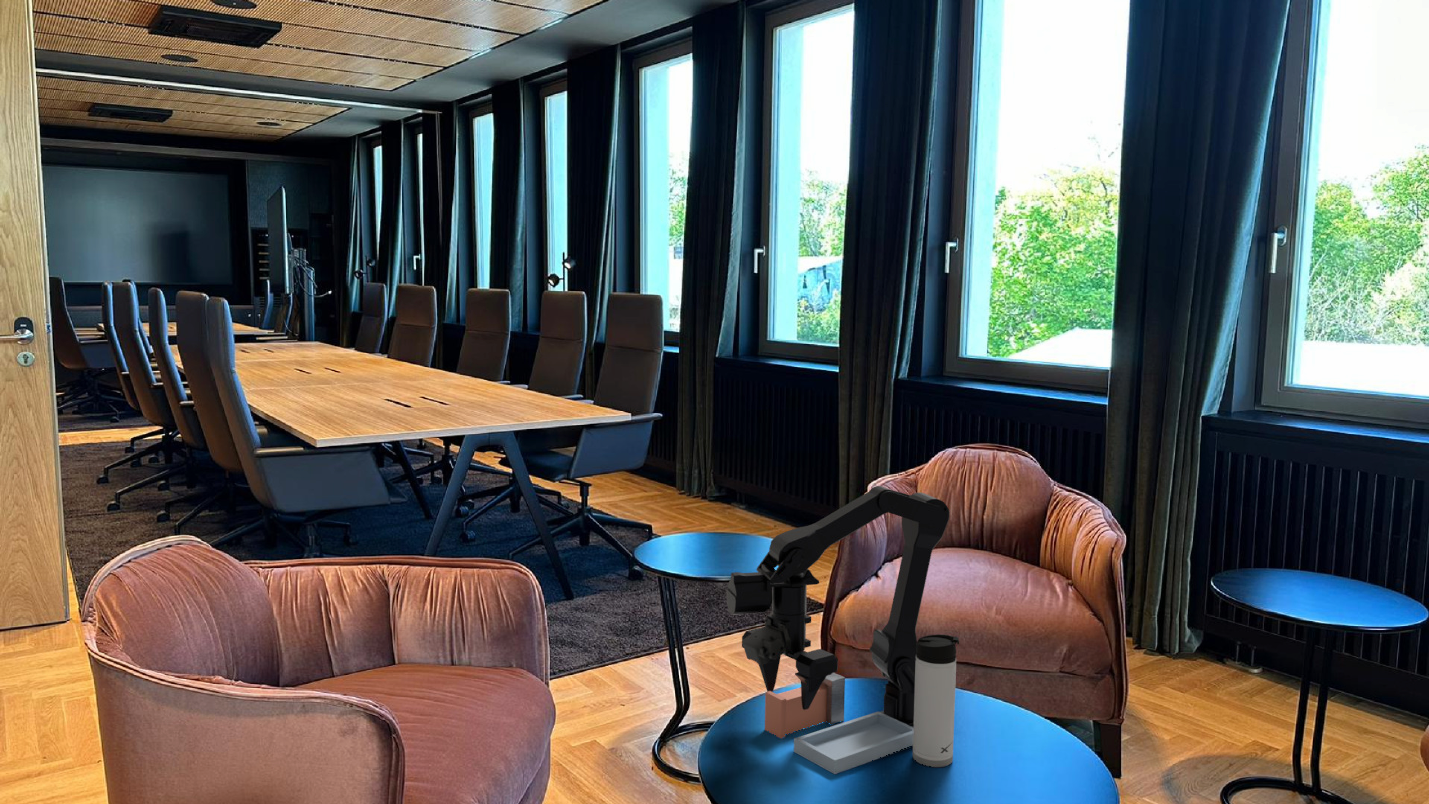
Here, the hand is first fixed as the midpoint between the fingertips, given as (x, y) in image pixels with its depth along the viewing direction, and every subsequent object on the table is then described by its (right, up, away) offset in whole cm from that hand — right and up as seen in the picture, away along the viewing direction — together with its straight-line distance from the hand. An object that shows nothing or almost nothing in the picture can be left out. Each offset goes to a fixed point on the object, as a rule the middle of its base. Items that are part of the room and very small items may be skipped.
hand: (787, 700), depth 172 cm
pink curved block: (+4, -5, +3) cm, 7 cm away
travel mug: (+23, -7, -10) cm, 26 cm away
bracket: (+7, -5, +6) cm, 10 cm away
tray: (+11, -6, -6) cm, 14 cm away
